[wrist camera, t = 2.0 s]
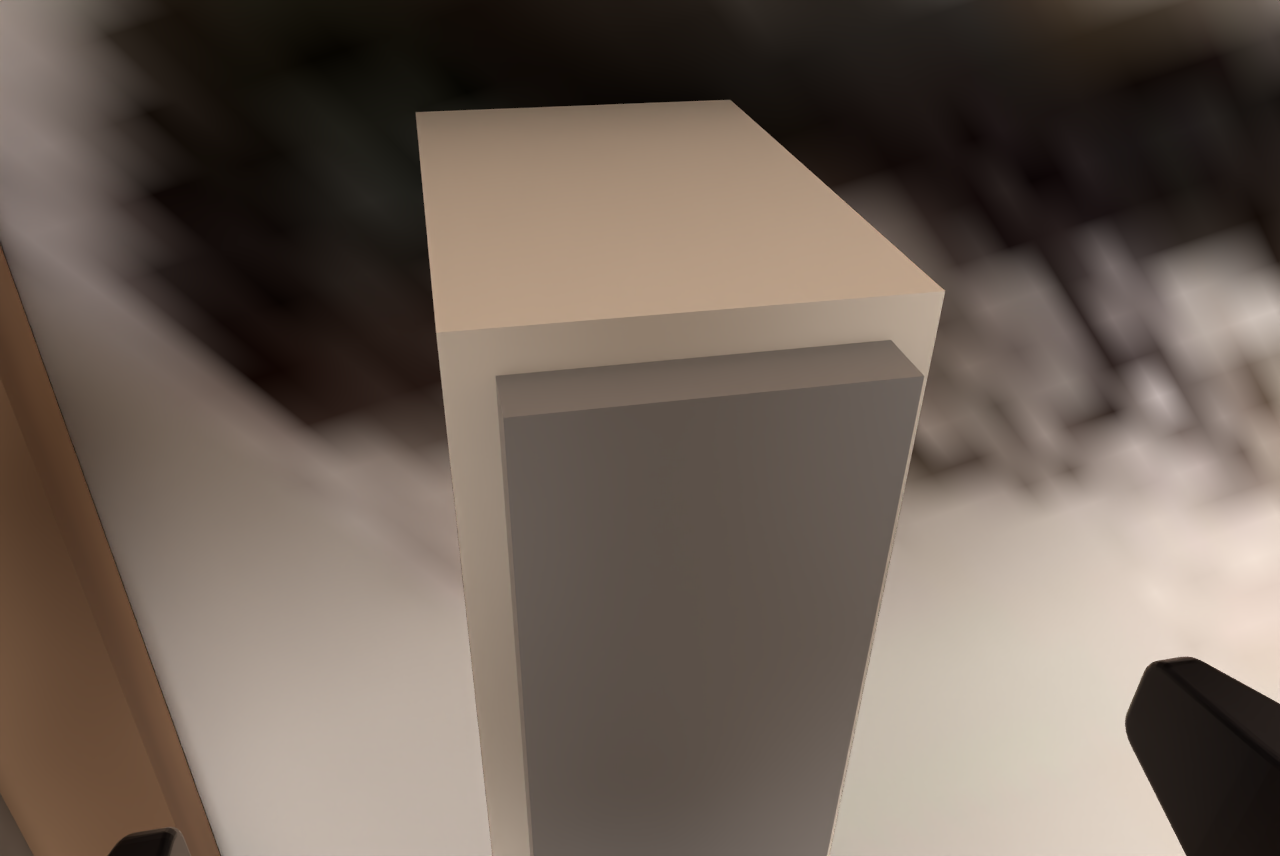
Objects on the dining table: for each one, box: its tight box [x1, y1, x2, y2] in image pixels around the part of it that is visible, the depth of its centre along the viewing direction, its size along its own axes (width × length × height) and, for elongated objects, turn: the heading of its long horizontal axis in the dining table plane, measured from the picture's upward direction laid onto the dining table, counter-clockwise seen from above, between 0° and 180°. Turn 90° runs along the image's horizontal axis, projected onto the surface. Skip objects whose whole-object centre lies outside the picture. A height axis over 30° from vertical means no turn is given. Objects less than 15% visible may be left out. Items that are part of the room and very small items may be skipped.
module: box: [416, 100, 945, 856], centre depth 12 cm, size 4×8×7 cm, turn 179°
